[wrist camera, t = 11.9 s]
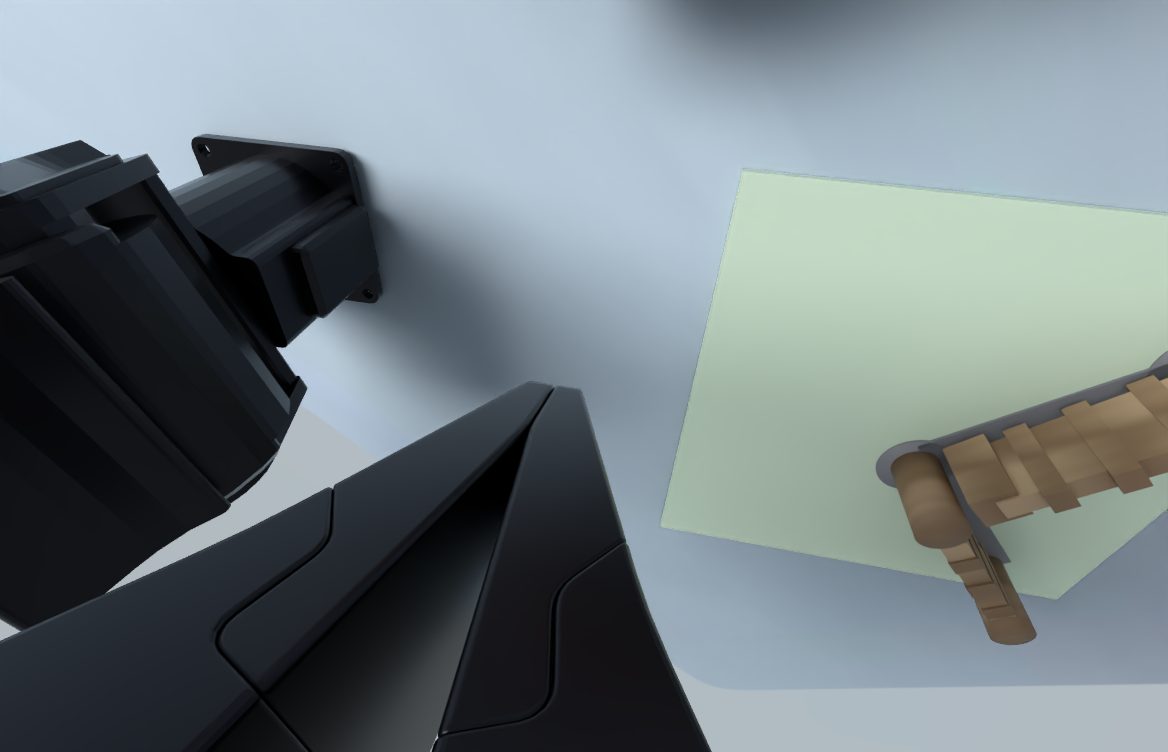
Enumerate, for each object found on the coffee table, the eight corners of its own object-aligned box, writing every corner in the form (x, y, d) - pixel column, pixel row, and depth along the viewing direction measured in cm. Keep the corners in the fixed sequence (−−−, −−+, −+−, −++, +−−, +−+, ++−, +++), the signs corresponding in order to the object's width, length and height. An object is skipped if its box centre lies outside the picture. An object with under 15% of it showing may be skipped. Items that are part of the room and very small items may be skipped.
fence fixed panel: (880, 454, 24) (905, 527, 21) (927, 439, 23) (961, 512, 20) (963, 572, 28) (994, 647, 25) (1006, 563, 27) (1044, 640, 24)
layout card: (660, 522, 30) (659, 528, 30) (743, 168, 18) (743, 171, 17) (1053, 594, 28) (1057, 601, 28) (1473, 245, 15) (1489, 251, 15)
